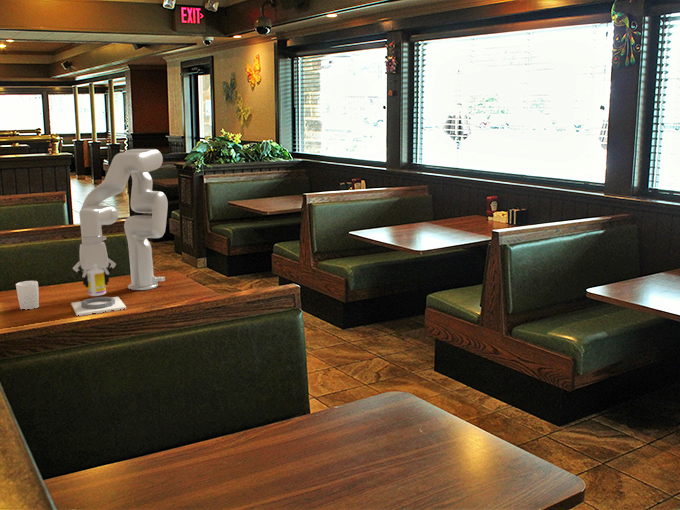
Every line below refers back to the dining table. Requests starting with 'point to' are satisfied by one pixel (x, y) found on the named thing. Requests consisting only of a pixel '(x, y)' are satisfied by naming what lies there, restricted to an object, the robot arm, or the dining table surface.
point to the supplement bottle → (96, 281)
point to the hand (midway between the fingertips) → (96, 285)
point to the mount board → (98, 305)
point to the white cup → (28, 294)
